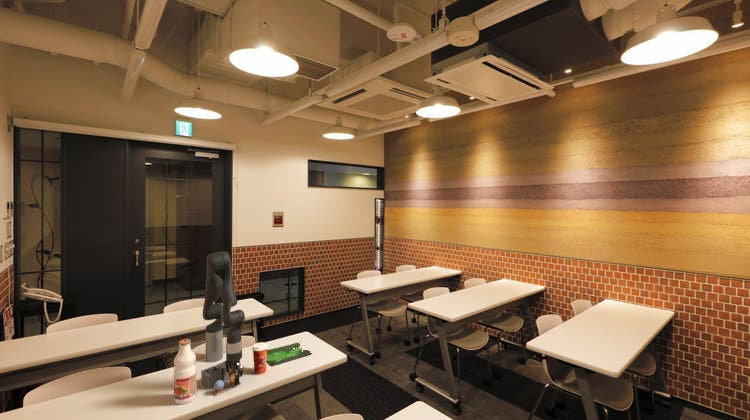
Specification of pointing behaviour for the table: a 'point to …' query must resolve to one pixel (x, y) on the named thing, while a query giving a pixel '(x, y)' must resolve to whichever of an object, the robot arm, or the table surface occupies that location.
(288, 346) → the mouse mat
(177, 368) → the fruit juice
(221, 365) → the tube
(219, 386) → the blue ball
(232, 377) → the orange ball
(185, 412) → the table surface
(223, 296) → the robot arm
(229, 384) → the walnut seat rail
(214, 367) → the tube
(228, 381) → the card
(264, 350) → the coffee cup
